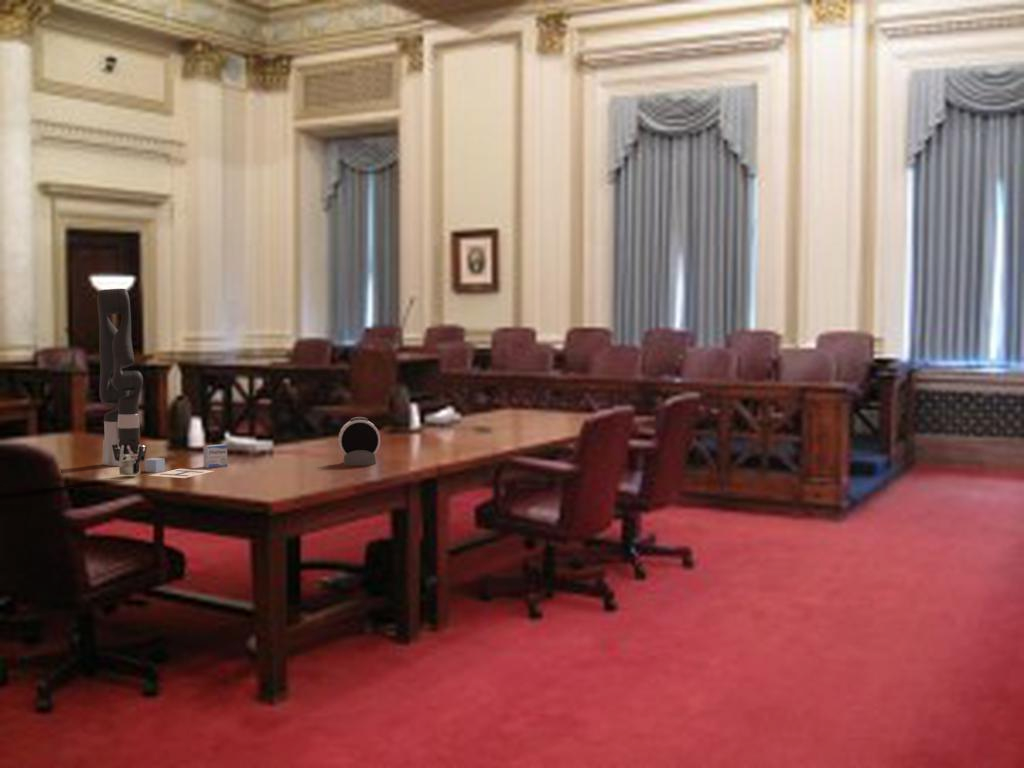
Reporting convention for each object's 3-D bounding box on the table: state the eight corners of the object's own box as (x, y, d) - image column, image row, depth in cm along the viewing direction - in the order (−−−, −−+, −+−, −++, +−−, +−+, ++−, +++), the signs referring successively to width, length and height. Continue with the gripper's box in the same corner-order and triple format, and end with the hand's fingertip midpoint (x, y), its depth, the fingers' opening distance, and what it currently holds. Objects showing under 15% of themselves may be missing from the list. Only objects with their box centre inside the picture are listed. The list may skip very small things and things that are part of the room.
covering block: (119, 474, 420) (119, 460, 420) (128, 472, 425) (128, 459, 425) (130, 475, 418) (130, 461, 418) (140, 473, 423) (139, 459, 423)
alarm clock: (339, 465, 451) (339, 418, 450) (338, 462, 461) (337, 416, 460) (381, 464, 455) (381, 418, 453) (379, 461, 465) (378, 415, 463)
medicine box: (207, 469, 443) (207, 446, 443) (203, 467, 447) (203, 445, 446) (227, 467, 448) (227, 444, 447) (223, 465, 452) (222, 443, 451)
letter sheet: (148, 476, 425) (148, 475, 425) (179, 469, 442) (179, 468, 442) (184, 479, 419) (184, 477, 419) (214, 472, 436) (214, 470, 436)
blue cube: (145, 472, 435) (145, 459, 434) (154, 470, 439) (153, 457, 439) (156, 473, 433) (155, 460, 432) (164, 471, 437) (164, 458, 437)
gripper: (105, 426, 420) (106, 473, 421) (137, 428, 414) (138, 475, 416) (119, 424, 427) (121, 470, 428) (151, 426, 421) (152, 472, 423)
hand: (129, 472), depth 422 cm, fingers closed on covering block, 4 cm apart
